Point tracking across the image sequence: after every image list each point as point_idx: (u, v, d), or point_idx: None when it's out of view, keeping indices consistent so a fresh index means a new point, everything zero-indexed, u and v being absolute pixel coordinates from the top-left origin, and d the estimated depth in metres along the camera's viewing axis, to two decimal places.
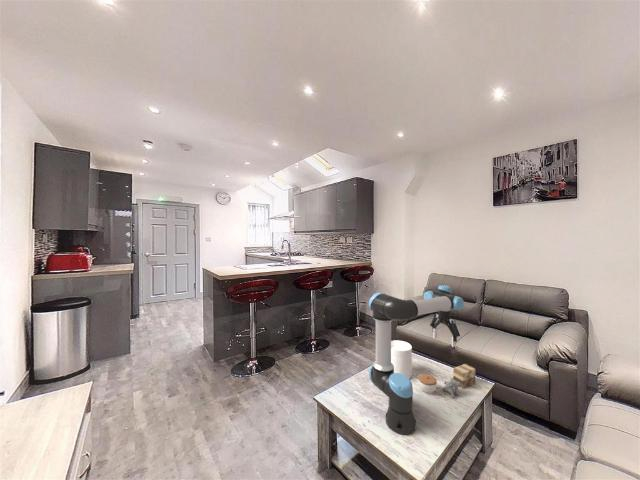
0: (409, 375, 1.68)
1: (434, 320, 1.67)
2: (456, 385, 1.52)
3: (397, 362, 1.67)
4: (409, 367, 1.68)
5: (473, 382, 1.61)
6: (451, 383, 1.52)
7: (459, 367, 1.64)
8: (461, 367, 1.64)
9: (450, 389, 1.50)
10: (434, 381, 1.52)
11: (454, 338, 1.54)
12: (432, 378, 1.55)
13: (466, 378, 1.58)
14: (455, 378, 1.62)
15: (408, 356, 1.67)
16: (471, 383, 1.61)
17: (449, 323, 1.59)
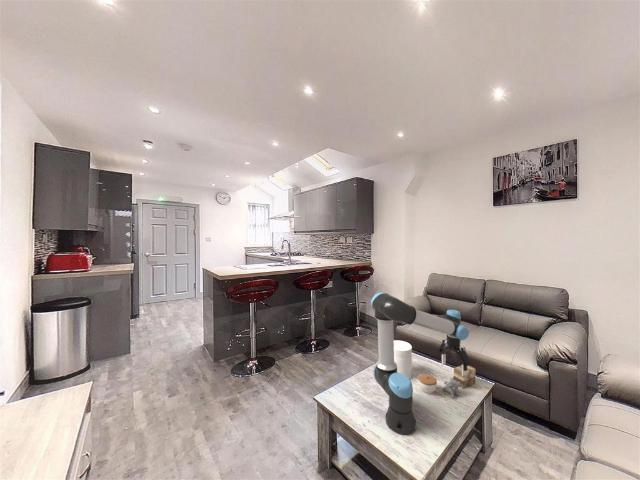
0: (409, 375, 1.68)
1: (442, 346, 1.59)
2: (456, 385, 1.52)
3: (397, 362, 1.67)
4: (409, 367, 1.68)
5: (473, 382, 1.62)
6: (451, 383, 1.52)
7: (459, 367, 1.64)
8: (461, 367, 1.64)
9: (450, 389, 1.50)
10: (434, 381, 1.52)
11: (464, 367, 1.46)
12: (432, 378, 1.55)
13: (466, 378, 1.58)
14: (455, 378, 1.62)
15: (408, 356, 1.67)
16: (471, 383, 1.61)
17: (459, 350, 1.51)
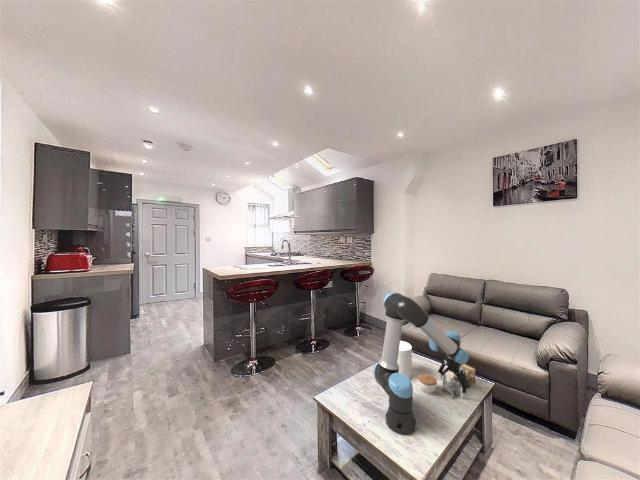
0: (409, 375, 1.68)
1: (442, 367, 1.59)
2: (456, 385, 1.51)
3: (397, 362, 1.67)
4: (409, 367, 1.68)
5: (473, 382, 1.61)
6: (451, 383, 1.52)
7: None
8: (461, 367, 1.64)
9: (450, 389, 1.50)
10: (434, 381, 1.52)
11: (463, 389, 1.47)
12: (432, 378, 1.55)
13: None
14: (455, 378, 1.62)
15: (408, 356, 1.67)
16: (471, 383, 1.61)
17: (458, 372, 1.52)
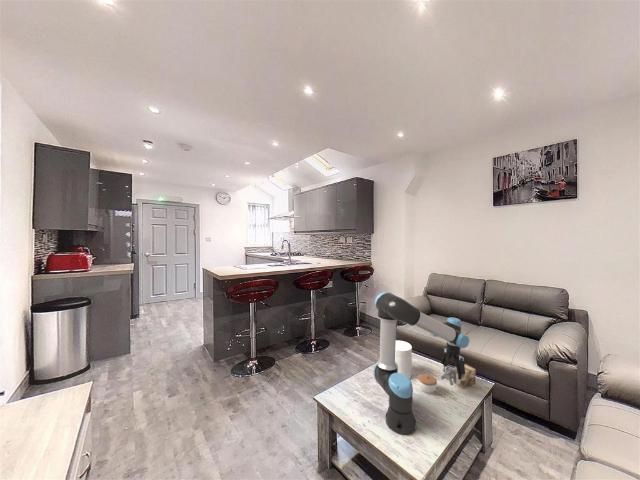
0: (409, 375, 1.68)
1: (444, 356, 1.58)
2: (455, 373, 1.51)
3: (397, 362, 1.67)
4: (409, 367, 1.68)
5: (473, 382, 1.61)
6: (450, 371, 1.52)
7: None
8: None
9: (449, 376, 1.50)
10: (434, 381, 1.52)
11: (459, 376, 1.49)
12: (432, 378, 1.55)
13: (466, 378, 1.58)
14: None
15: (408, 356, 1.67)
16: (471, 383, 1.61)
17: (457, 358, 1.52)
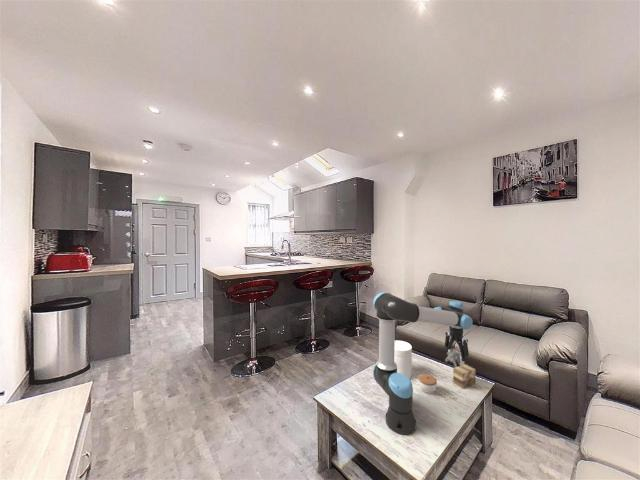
0: (409, 375, 1.68)
1: (447, 339, 1.59)
2: (458, 355, 1.53)
3: (397, 362, 1.67)
4: (409, 367, 1.68)
5: (473, 382, 1.61)
6: (453, 353, 1.53)
7: (459, 367, 1.64)
8: (461, 367, 1.64)
9: (453, 359, 1.51)
10: (434, 381, 1.52)
11: (462, 357, 1.50)
12: (432, 378, 1.55)
13: (466, 378, 1.58)
14: (455, 378, 1.62)
15: (408, 356, 1.67)
16: (471, 383, 1.61)
17: (460, 341, 1.53)
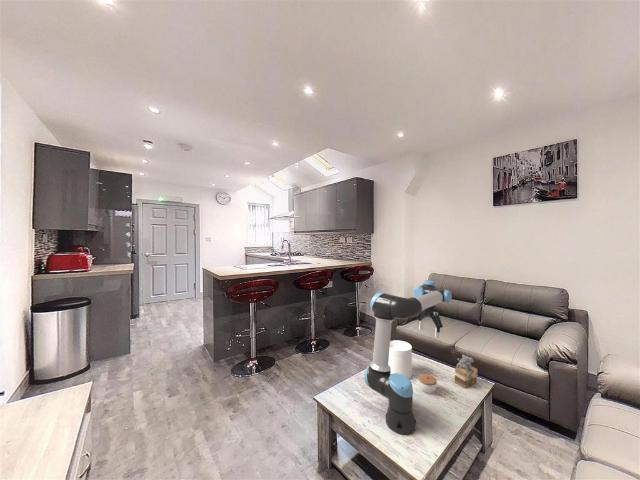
0: (409, 375, 1.68)
1: (420, 313, 1.78)
2: (469, 361, 1.61)
3: (397, 362, 1.67)
4: (409, 367, 1.68)
5: (474, 381, 1.62)
6: (464, 359, 1.61)
7: (461, 367, 1.64)
8: None
9: (464, 365, 1.59)
10: (434, 381, 1.52)
11: (437, 329, 1.66)
12: (432, 378, 1.55)
13: (468, 378, 1.59)
14: (457, 378, 1.62)
15: (408, 356, 1.67)
16: (472, 383, 1.61)
17: (433, 315, 1.71)
